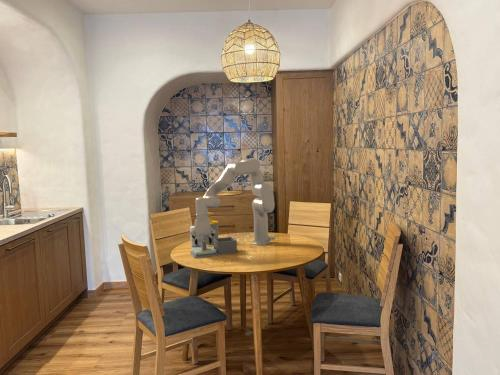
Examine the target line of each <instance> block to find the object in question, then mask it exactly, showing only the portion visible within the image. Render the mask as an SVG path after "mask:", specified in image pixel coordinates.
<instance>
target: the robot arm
mask: <svg viewBox="0 0 500 375" xmlns="http://www.w3.org/2000/svg"><path fill="white" fill-rule="evenodd" d="M260 168H261V162H260V161H259V160H258V159H256V158H241V160H240V161H231V162H229V163H228V164H227V165H226V167H225V168H224V170H223V171H222V173H221V175H220V176H219V178H218V179H217V180H216V181H215V182H214V183H213V184H212V185H211V186H209V188H208V189H207V190H206V191H205V194H204V195H203V196H200V197H196V198H195V203H194V204H195V219H194V224H193V226H194V230H193V231H191V232H190V231H189V235H191V236H192V237H193V238H194V239H195V244H196V246H198V240H197V237H198V236H201V235H209V244H208V245H212V244H211V243H212V237H213V236H214V234H215V232H216V231H215V230H214V229H212V228H211V225H210V220H209V217H210V215H209V214H208V213H209V209H217V208H219V207H220V206H221V203H222V200H221V199H220V198H219V197H218V195H219V193H221V192H223V191H225V190H227V189H228V188H230V186H232V183H233V182H234V180H235V179H236V178H237V176H245V175H248V177H249V181H250V187H251V193H252V194H253V196H256V198H254V199H253V200H252V203H251V208H252V214H253V235H254V236H253V237H254V238H253V239H254V240H253V241H252V242H251V243H252V244H253V245H256V246H265V245H270V244H271V243H272V242H271V240H276V237H275V236H269V224H268V223H269V220H268V214H269V213H273V211H274V210H275V205H276V204H275V196H274V190H273V188H272V185H271V184H270V183H268V182H264V178H263V175H262V171H261V169H260ZM211 230H212V231H213V233H212V234H211ZM193 233H194V234H196V235H195V236H194V235H193Z"/></svg>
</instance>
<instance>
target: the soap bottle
mask: <svg viewBox="0 0 500 375" xmlns="http://www.w3.org/2000/svg"><path fill="white" fill-rule="evenodd" d="M208 214H209V215H210V217H209V220H210V225H211V228H212V229H214V230H215V231H216V232H215V234H214V236H213V237H212V243H211V244H209V235H205V241H206V245H207V244H208V245H214V239H215V238H219V222H220V221H218V220H213V218H212V216H211V215H214V214H215V213H214V212H208ZM212 233H213V231H212V230H211V234H212Z"/></svg>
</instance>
